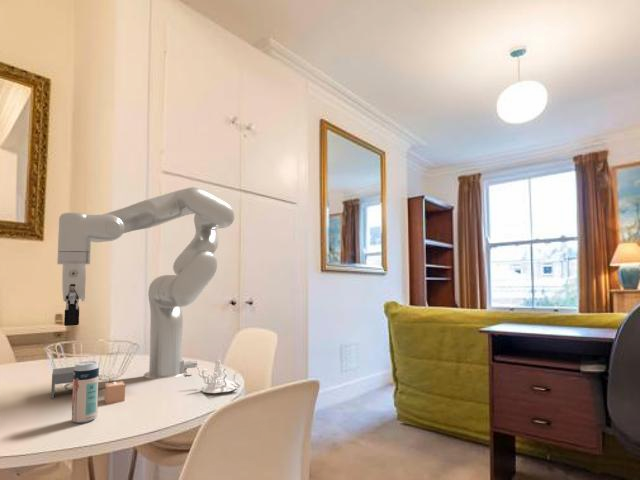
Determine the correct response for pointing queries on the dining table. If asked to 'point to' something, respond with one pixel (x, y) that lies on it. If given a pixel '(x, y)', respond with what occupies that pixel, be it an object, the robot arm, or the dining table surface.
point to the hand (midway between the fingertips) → (71, 323)
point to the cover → (61, 377)
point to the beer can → (85, 392)
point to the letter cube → (114, 392)
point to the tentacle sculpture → (218, 380)
